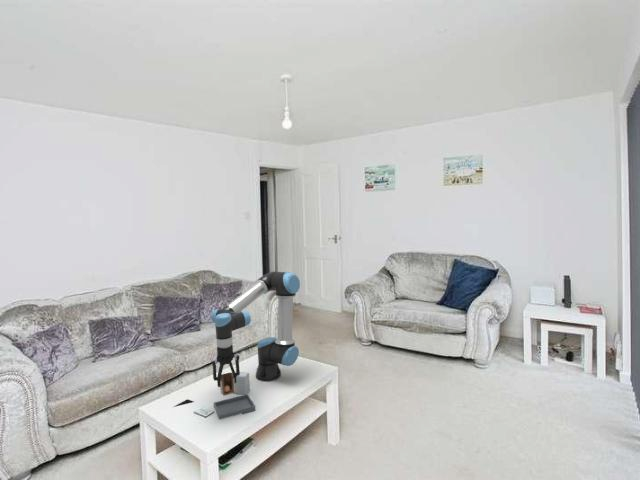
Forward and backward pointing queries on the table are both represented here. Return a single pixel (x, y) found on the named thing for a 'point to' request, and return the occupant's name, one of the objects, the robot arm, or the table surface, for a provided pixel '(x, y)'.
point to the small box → (242, 384)
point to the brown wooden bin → (227, 383)
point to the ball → (226, 388)
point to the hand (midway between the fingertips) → (227, 390)
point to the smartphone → (184, 402)
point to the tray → (234, 406)
